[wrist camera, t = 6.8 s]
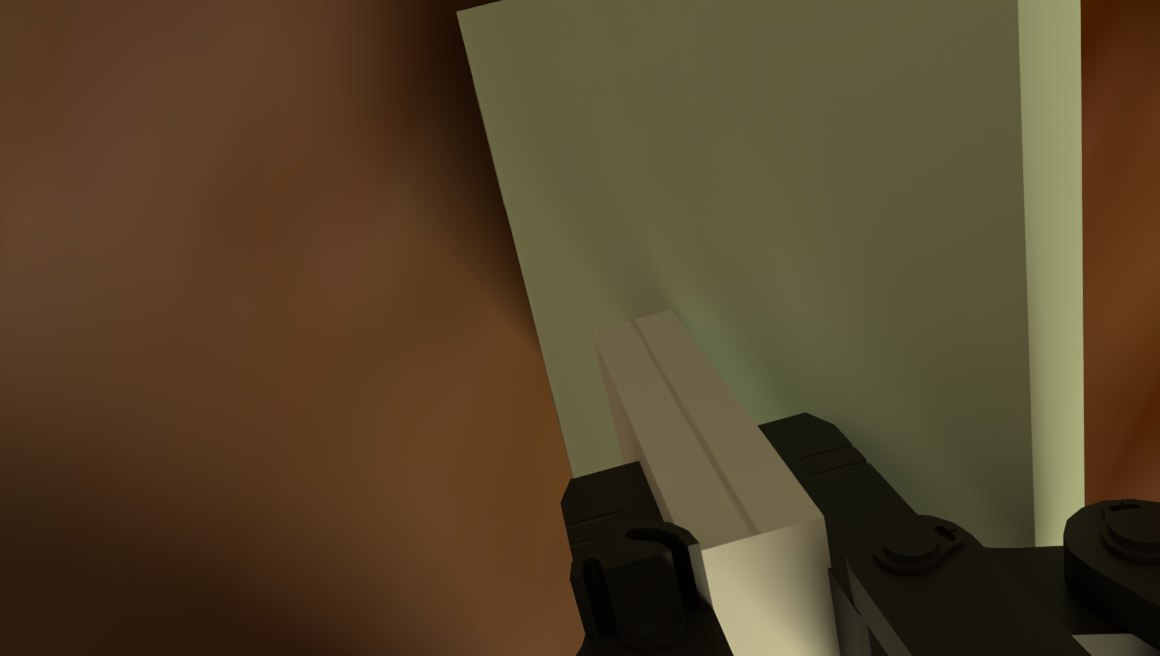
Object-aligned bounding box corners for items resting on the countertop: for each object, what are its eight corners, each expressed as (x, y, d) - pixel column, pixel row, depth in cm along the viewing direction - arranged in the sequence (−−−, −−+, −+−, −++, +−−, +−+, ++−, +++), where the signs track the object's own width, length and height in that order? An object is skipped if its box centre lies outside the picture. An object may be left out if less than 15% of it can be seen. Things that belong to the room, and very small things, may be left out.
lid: (606, 519, 25) (582, 530, 24) (482, 5, 20) (450, 13, 20) (1088, 949, 12) (1049, 984, 12) (1080, -143, 7) (1012, -128, 7)
